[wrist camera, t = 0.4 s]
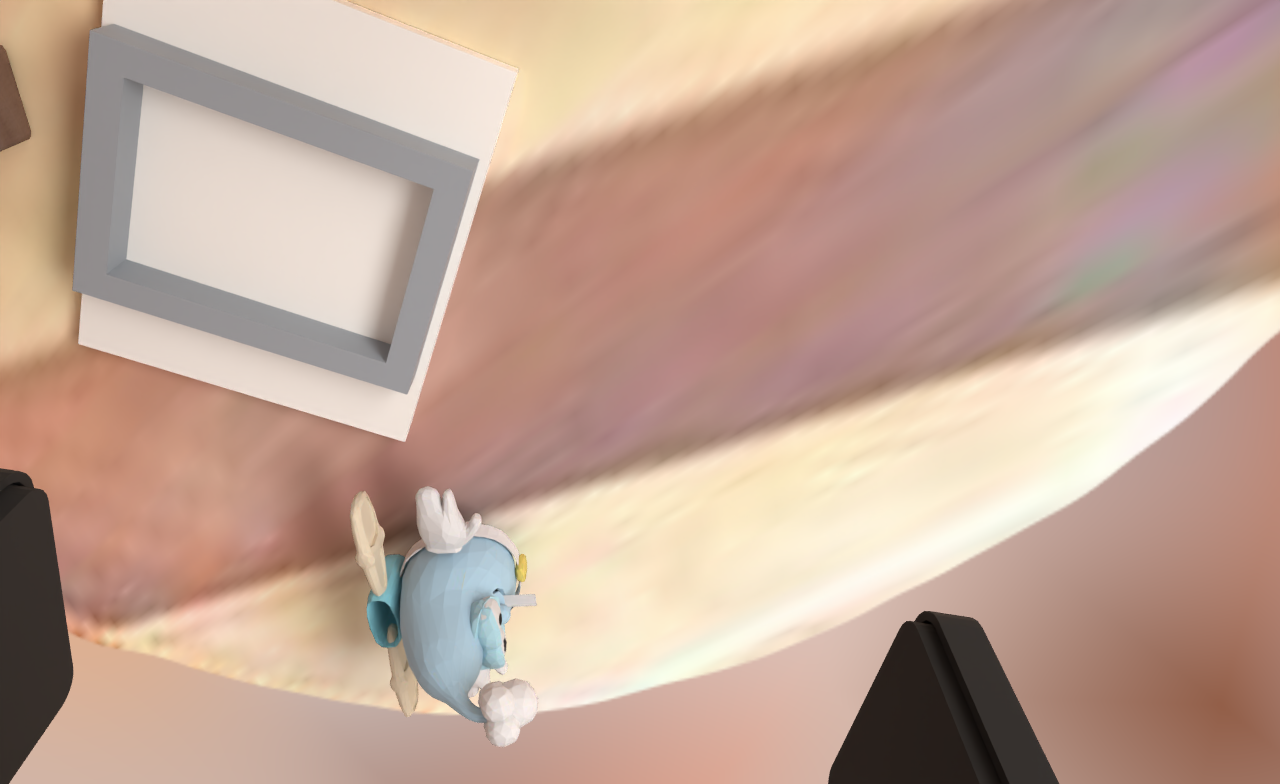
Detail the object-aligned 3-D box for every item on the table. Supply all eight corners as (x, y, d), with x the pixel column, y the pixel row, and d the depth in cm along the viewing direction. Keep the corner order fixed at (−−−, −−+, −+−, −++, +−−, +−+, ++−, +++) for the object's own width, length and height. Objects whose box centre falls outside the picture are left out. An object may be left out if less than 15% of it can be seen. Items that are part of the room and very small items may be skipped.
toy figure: (567, 635, 60) (550, 841, 47) (416, 641, 60) (358, 849, 47) (542, 433, 52) (513, 616, 39) (366, 441, 52) (279, 626, 39)
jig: (121, -89, 38) (84, -87, 35) (519, 69, 41) (511, 81, 39) (88, 335, 48) (57, 361, 45) (408, 432, 52) (397, 461, 49)
